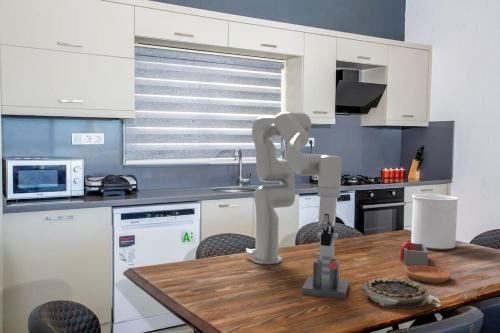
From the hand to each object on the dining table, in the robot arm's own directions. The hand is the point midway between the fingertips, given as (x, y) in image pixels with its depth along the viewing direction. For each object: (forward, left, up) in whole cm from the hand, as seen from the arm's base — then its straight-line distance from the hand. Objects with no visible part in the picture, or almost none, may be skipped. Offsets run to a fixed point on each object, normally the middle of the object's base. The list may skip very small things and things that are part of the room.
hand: (327, 242), depth 157 cm
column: (0, 0, -14) cm, 14 cm away
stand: (0, 0, -16) cm, 16 cm away
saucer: (+35, +27, -17) cm, 47 cm away
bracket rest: (+32, +52, -16) cm, 63 cm away
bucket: (+43, +86, -16) cm, 98 cm away
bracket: (+32, +52, -16) cm, 63 cm away
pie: (+22, -1, -17) cm, 28 cm away
